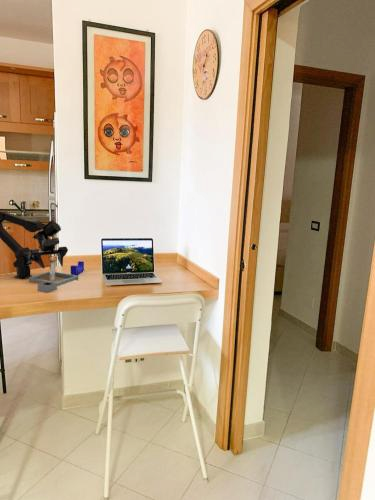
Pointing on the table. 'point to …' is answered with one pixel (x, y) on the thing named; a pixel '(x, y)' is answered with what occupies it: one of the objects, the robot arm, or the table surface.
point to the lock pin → (52, 267)
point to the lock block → (47, 286)
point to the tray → (57, 274)
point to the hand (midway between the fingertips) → (53, 266)
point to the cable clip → (77, 268)
